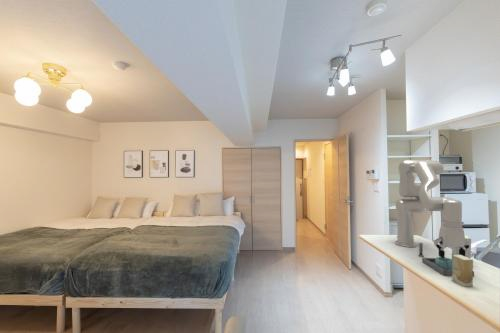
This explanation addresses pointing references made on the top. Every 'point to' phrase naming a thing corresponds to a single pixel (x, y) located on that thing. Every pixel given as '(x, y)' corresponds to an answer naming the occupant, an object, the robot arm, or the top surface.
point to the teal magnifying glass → (444, 263)
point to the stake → (420, 250)
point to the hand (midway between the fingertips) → (451, 257)
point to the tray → (431, 263)
